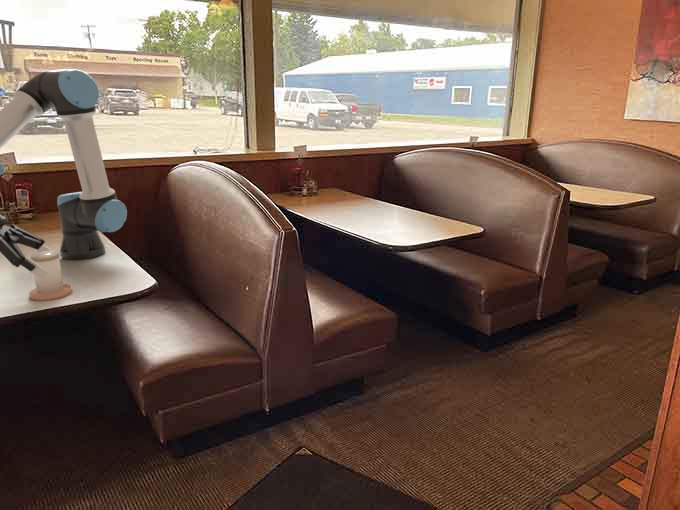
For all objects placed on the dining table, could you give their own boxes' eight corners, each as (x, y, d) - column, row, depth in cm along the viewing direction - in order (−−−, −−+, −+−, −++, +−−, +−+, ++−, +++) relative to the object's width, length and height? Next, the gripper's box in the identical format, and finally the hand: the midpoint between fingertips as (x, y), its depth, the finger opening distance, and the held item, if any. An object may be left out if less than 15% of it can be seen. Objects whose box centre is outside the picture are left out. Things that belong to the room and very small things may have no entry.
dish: (37, 289, 158) (36, 285, 157) (76, 286, 160) (75, 282, 160) (24, 302, 147) (23, 298, 147) (66, 299, 150) (65, 295, 149)
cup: (40, 286, 156) (34, 251, 153) (66, 284, 158) (61, 249, 155) (33, 295, 149) (26, 258, 146) (61, 292, 151) (55, 256, 148)
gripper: (-6, 220, 156) (56, 264, 163) (-46, 242, 133) (29, 292, 140) (10, 202, 155) (72, 247, 163) (-27, 220, 132) (48, 272, 140)
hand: (52, 268), depth 152 cm, fingers open, 13 cm apart
